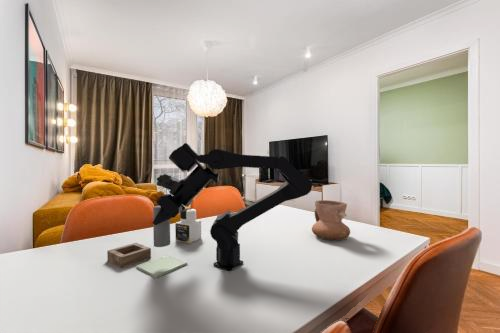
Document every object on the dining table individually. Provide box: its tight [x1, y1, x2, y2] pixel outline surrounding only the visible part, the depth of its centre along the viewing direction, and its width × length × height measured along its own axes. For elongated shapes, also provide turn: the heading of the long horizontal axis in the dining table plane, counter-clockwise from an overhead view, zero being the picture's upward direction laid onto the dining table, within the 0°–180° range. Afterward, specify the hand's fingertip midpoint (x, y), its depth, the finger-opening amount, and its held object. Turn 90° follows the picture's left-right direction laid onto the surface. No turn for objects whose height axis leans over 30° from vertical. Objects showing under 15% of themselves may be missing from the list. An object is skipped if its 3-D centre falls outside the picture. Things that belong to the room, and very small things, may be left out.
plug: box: [152, 205, 171, 248], centre depth 67 cm, size 4×4×11 cm
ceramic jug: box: [311, 199, 351, 241], centre depth 93 cm, size 18×14×14 cm
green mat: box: [135, 254, 188, 279], centre depth 67 cm, size 10×10×1 cm
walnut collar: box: [106, 242, 152, 269], centre depth 73 cm, size 9×9×3 cm
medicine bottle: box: [174, 207, 202, 244], centre depth 91 cm, size 7×7×12 cm
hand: (156, 222), depth 67 cm, fingers closed on plug, 4 cm apart
